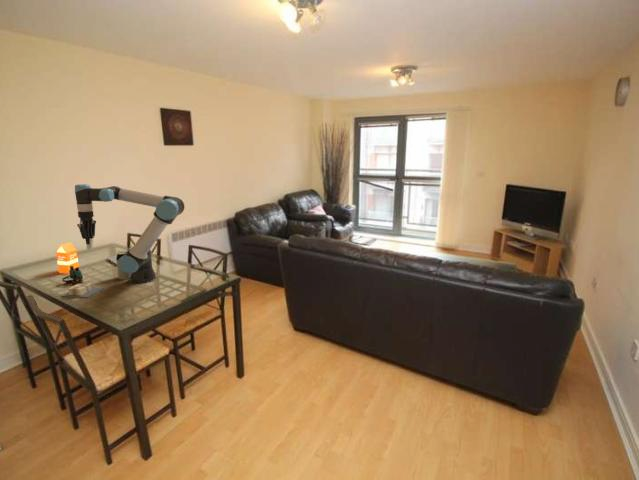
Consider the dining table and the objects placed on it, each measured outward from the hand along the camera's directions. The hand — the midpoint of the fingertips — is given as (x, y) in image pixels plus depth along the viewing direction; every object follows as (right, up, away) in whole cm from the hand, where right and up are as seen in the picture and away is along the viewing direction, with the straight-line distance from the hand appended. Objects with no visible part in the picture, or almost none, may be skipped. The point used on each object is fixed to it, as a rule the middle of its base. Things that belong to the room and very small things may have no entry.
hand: (90, 248), depth 201 cm
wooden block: (-2, -23, -3) cm, 23 cm away
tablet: (-13, -12, +56) cm, 58 cm away
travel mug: (+8, -20, +22) cm, 31 cm away
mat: (-1, -26, -4) cm, 26 cm away
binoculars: (-17, -22, +9) cm, 30 cm away
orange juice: (-35, -17, +30) cm, 49 cm away
